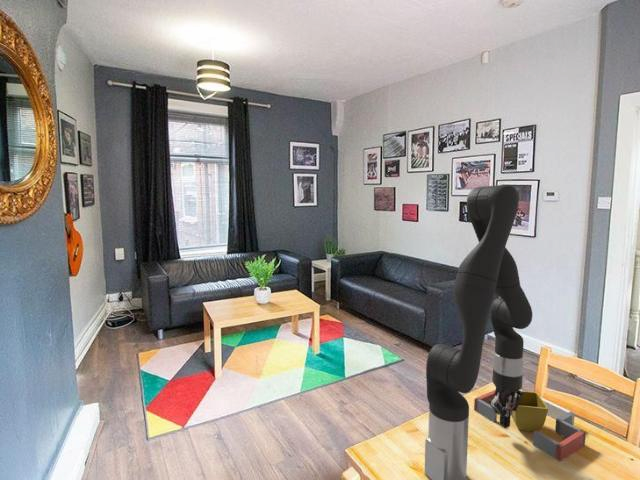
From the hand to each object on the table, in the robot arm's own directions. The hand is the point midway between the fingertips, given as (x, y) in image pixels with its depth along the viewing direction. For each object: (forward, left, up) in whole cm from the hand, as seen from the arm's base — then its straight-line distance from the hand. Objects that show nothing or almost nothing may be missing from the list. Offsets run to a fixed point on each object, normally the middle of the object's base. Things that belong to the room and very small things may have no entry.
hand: (504, 425), depth 104 cm
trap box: (+13, 0, -4) cm, 14 cm away
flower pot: (+10, 0, -4) cm, 11 cm away
